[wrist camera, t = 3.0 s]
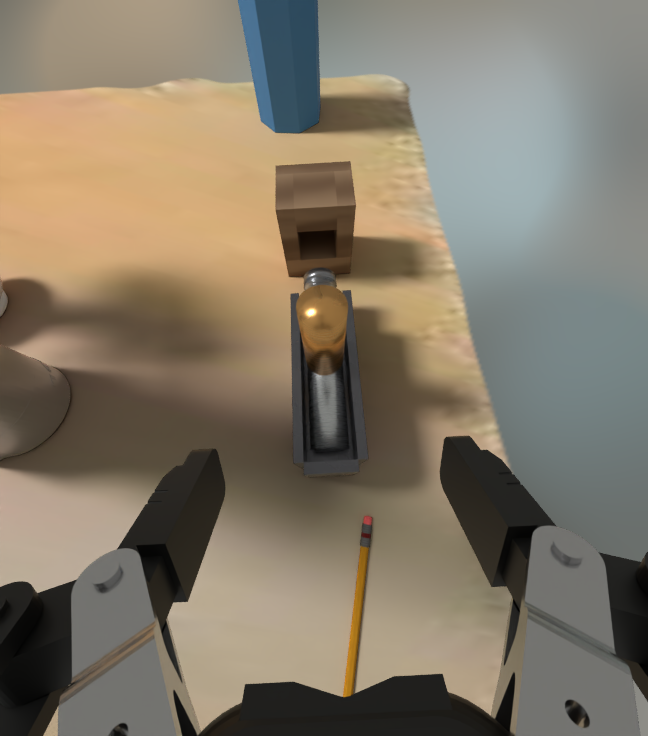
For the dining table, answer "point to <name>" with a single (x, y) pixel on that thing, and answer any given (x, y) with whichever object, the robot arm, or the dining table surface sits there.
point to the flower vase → (2, 299)
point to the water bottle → (284, 61)
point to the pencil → (357, 607)
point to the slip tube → (324, 358)
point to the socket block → (316, 216)
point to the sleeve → (302, 454)
